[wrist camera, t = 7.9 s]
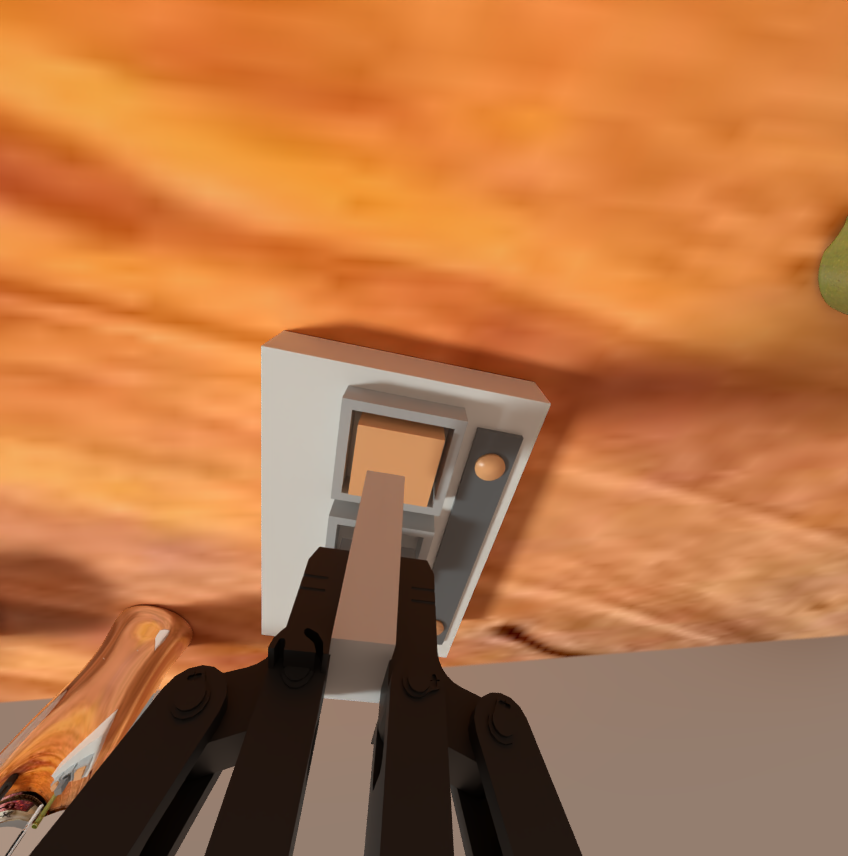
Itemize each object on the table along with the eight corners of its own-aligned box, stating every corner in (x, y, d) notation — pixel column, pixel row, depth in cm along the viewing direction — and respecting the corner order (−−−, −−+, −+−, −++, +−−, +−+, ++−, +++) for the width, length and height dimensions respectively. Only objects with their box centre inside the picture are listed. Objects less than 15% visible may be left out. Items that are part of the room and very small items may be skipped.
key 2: (363, 409, 17) (358, 424, 16) (443, 424, 18) (445, 440, 16) (353, 475, 19) (348, 494, 18) (426, 487, 20) (426, 507, 18)
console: (283, 330, 19) (247, 355, 15) (534, 382, 20) (561, 417, 16) (276, 598, 29) (253, 655, 25) (444, 621, 31) (447, 678, 27)
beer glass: (213, 645, 32) (67, 930, 19) (143, 655, 33) (-45, 936, 20) (172, 595, 29) (-39, 895, 16) (95, 607, 30) (-168, 904, 17)
